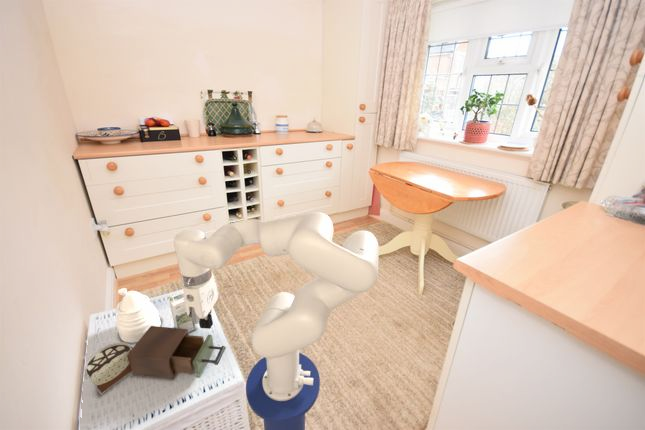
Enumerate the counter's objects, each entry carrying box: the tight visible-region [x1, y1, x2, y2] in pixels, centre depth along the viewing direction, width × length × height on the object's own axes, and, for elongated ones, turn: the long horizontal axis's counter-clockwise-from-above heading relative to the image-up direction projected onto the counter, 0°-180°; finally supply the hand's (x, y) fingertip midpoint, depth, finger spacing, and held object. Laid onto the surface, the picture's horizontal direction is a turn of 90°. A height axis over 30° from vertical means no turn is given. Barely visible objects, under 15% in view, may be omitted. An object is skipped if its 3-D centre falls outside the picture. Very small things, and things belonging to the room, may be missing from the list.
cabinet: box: [127, 326, 190, 380], centre depth 93 cm, size 13×12×9 cm
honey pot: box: [115, 287, 162, 344], centre depth 103 cm, size 13×13×18 cm
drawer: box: [170, 334, 227, 379], centre depth 92 cm, size 17×10×7 cm, turn 85°
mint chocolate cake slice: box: [84, 342, 134, 395], centre depth 87 cm, size 12×6×10 cm, turn 149°
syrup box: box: [168, 291, 196, 334], centre depth 104 cm, size 6×6×14 cm
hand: (206, 326), depth 85 cm, fingers closed
